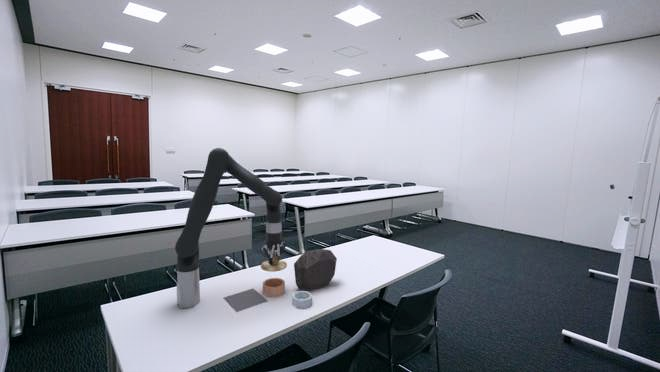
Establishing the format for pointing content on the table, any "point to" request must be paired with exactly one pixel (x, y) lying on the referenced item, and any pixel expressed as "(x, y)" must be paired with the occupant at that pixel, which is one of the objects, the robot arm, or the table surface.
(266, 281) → the bowl
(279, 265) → the lid
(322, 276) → the decorative stone
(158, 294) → the table surface
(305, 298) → the small bowl
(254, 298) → the mat
